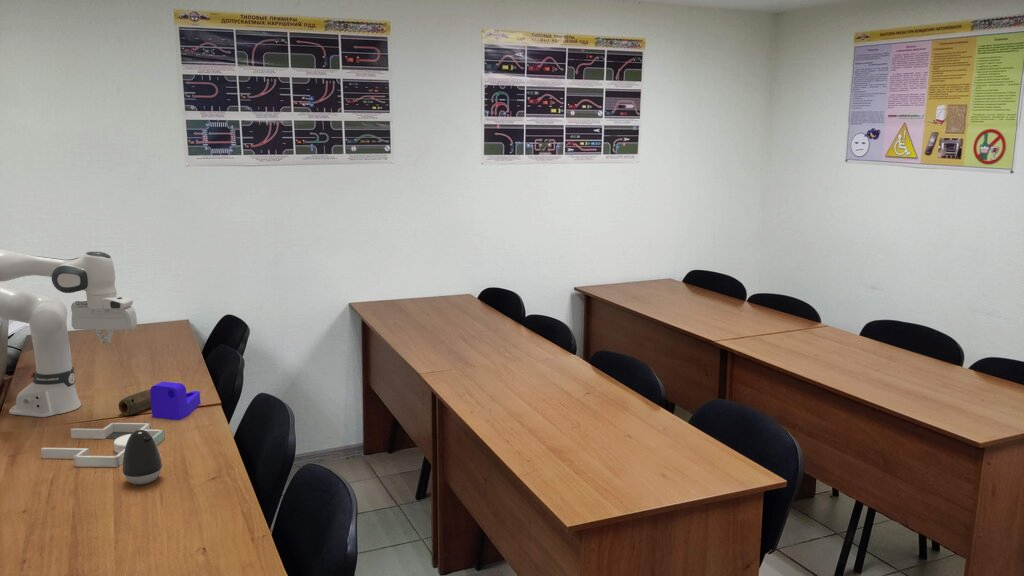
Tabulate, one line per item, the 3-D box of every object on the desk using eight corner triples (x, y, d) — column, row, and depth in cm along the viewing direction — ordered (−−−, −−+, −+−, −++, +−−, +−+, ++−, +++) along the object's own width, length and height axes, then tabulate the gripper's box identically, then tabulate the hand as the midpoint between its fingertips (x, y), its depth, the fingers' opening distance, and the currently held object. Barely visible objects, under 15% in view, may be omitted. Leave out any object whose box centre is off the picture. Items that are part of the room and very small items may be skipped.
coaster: (156, 445, 256) (155, 435, 255) (132, 457, 246) (131, 446, 246) (131, 441, 259) (130, 431, 258) (107, 453, 250) (106, 442, 249)
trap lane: (31, 465, 239) (29, 456, 239) (82, 430, 267) (81, 422, 266) (131, 467, 239) (130, 457, 238) (172, 432, 266) (171, 423, 266)
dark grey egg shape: (138, 492, 223) (133, 440, 220) (116, 483, 228) (111, 432, 225) (171, 478, 231) (167, 428, 228) (148, 470, 237) (144, 421, 234)
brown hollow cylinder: (133, 418, 279) (132, 400, 277) (117, 416, 281) (115, 398, 279) (164, 404, 293) (163, 387, 291) (148, 402, 295) (147, 385, 293)
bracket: (179, 420, 277) (177, 387, 275) (152, 417, 280) (149, 385, 277) (211, 403, 294) (209, 372, 292) (185, 400, 297) (183, 370, 295)
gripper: (65, 303, 260) (69, 344, 263) (128, 303, 260) (131, 345, 263) (76, 298, 266) (79, 339, 269) (137, 299, 266) (140, 340, 269)
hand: (106, 342), depth 266 cm, fingers closed
